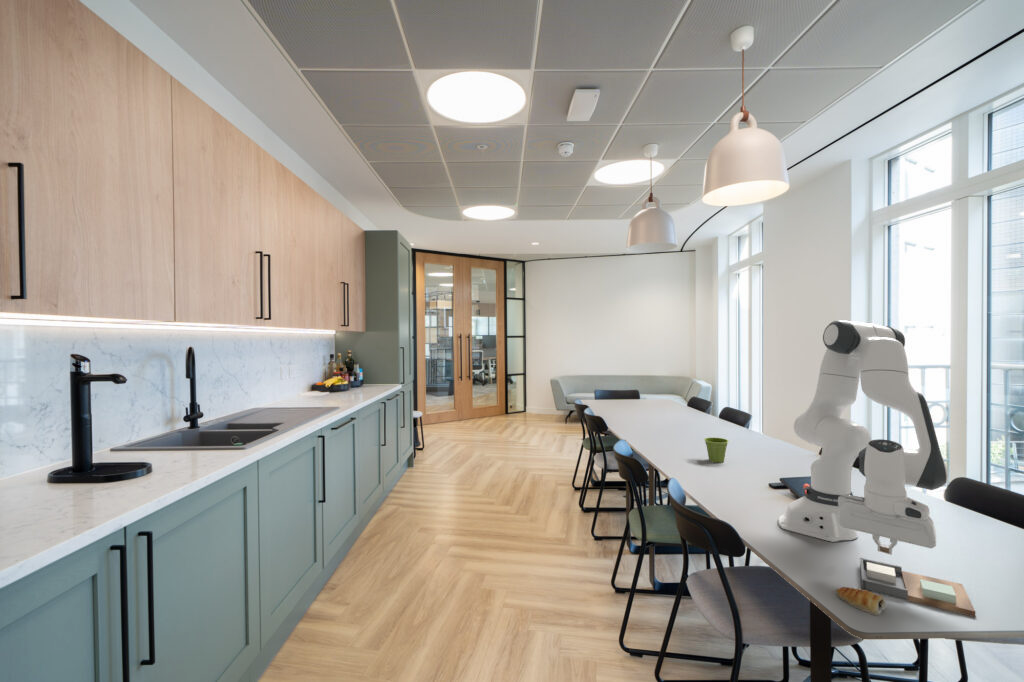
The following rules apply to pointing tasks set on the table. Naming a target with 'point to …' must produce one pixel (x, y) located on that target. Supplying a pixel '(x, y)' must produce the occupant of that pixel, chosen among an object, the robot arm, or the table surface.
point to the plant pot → (716, 449)
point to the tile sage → (937, 591)
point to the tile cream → (881, 572)
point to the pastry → (862, 600)
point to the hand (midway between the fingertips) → (884, 552)
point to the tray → (880, 585)
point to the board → (915, 595)
